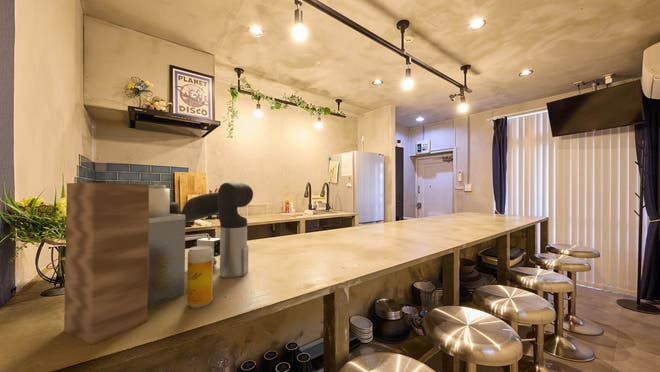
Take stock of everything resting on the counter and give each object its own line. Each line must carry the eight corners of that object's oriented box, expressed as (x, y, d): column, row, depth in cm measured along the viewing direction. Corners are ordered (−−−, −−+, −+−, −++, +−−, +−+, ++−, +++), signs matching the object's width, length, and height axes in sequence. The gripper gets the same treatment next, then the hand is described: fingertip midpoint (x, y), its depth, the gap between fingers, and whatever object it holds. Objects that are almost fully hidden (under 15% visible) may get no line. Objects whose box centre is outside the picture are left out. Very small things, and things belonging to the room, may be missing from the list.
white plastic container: (115, 218, 76) (116, 185, 76) (137, 216, 81) (138, 185, 81) (152, 221, 68) (152, 184, 68) (174, 219, 74) (174, 185, 74)
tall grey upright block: (125, 301, 69) (127, 216, 70) (163, 288, 79) (164, 213, 79) (147, 308, 65) (149, 218, 66) (184, 293, 74) (185, 214, 75)
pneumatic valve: (218, 269, 97) (218, 238, 97) (192, 267, 100) (192, 236, 100) (227, 265, 103) (227, 235, 103) (201, 263, 105) (202, 234, 105)
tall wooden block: (64, 330, 55) (66, 183, 55) (118, 310, 64) (120, 184, 64) (92, 345, 50) (95, 182, 50) (147, 321, 59) (149, 183, 59)
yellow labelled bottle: (185, 302, 69) (186, 247, 69) (209, 296, 72) (210, 244, 73) (189, 311, 64) (189, 251, 64) (214, 304, 68) (215, 248, 68)
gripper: (121, 232, 92) (144, 212, 87) (67, 239, 79) (90, 216, 74) (115, 214, 94) (138, 193, 88) (62, 218, 81) (84, 193, 75)
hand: (116, 203), depth 81 cm, fingers open, 8 cm apart
